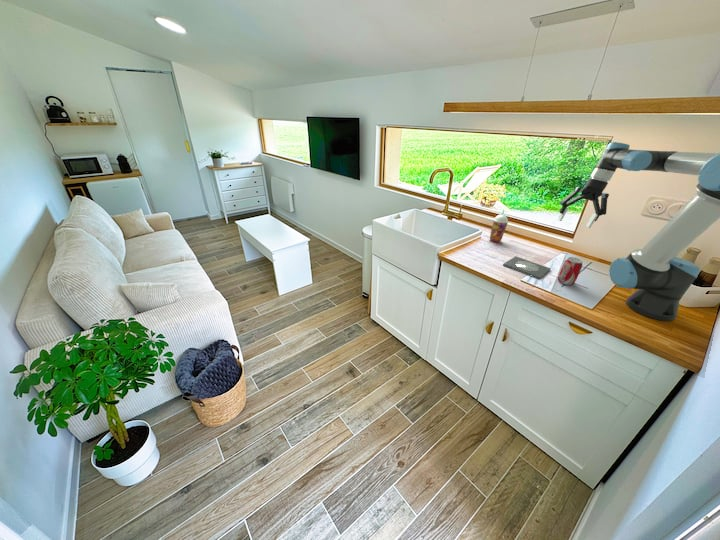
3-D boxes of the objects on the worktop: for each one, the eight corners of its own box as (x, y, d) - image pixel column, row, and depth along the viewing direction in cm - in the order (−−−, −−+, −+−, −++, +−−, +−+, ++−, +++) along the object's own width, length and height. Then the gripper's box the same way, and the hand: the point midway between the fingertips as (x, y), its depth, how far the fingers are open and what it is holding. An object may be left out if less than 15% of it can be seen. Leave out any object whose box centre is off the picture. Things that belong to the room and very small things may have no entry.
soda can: (573, 287, 130) (584, 265, 124) (555, 282, 133) (565, 260, 127) (574, 281, 135) (584, 259, 129) (557, 277, 138) (566, 255, 132)
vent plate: (550, 270, 144) (551, 268, 144) (539, 279, 136) (540, 277, 135) (515, 257, 156) (515, 256, 156) (502, 265, 147) (503, 263, 147)
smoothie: (492, 237, 182) (500, 207, 173) (504, 241, 177) (513, 210, 167) (485, 240, 178) (493, 209, 168) (497, 244, 172) (507, 213, 163)
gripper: (622, 184, 129) (595, 227, 139) (567, 172, 131) (544, 215, 141) (633, 187, 122) (604, 232, 132) (574, 174, 125) (550, 219, 134)
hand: (573, 223), depth 137 cm, fingers open, 13 cm apart
